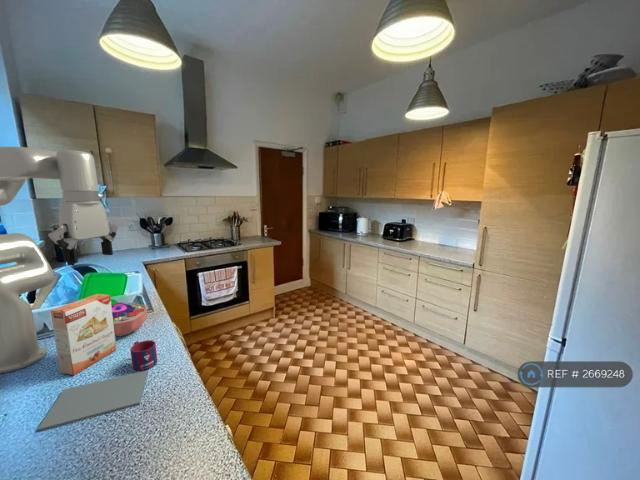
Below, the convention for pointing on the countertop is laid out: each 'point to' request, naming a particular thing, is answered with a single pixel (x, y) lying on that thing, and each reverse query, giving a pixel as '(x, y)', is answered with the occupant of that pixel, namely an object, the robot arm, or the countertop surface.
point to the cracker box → (83, 332)
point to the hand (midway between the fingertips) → (91, 258)
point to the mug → (143, 355)
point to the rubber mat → (95, 399)
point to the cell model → (128, 317)
